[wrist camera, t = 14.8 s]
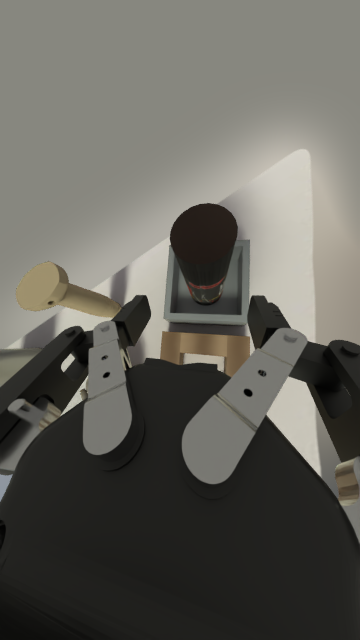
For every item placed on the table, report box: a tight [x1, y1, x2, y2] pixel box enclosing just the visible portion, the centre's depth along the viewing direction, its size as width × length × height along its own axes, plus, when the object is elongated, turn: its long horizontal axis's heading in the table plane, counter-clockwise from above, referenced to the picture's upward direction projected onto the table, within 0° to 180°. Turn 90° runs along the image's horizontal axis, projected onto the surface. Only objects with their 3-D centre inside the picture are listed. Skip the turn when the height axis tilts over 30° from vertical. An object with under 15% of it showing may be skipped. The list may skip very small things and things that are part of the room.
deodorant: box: [170, 203, 238, 306], centre depth 20 cm, size 6×6×15 cm
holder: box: [160, 331, 250, 377], centre depth 25 cm, size 14×14×4 cm
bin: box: [164, 240, 250, 326], centre depth 26 cm, size 13×13×5 cm
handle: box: [16, 262, 122, 317], centre depth 25 cm, size 5×6×15 cm
